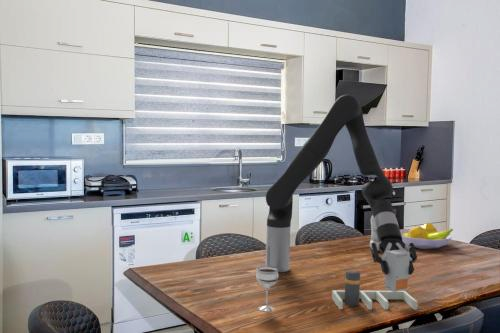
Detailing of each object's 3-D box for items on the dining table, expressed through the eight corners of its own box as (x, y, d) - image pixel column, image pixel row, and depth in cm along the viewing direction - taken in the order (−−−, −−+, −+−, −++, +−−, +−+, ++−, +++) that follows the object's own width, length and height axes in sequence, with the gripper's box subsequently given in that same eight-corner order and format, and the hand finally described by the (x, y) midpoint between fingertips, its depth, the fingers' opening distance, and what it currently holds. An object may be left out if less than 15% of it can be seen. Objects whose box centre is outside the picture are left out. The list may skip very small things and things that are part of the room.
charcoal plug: (346, 306, 142) (347, 274, 142) (342, 301, 147) (343, 270, 146) (361, 306, 143) (362, 274, 142) (356, 301, 147) (358, 270, 147)
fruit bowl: (383, 241, 238) (384, 219, 237) (427, 239, 246) (428, 218, 245) (418, 254, 211) (419, 230, 210) (466, 251, 219) (468, 228, 219)
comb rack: (339, 309, 140) (339, 301, 140) (331, 297, 150) (332, 290, 150) (417, 309, 141) (417, 301, 141) (404, 298, 151) (404, 290, 151)
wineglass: (258, 303, 143) (259, 265, 143) (280, 306, 142) (281, 267, 141) (252, 310, 137) (253, 270, 136) (274, 313, 135) (275, 273, 134)
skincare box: (394, 292, 142) (395, 254, 141) (384, 288, 146) (385, 250, 145) (408, 290, 145) (410, 252, 144) (398, 286, 149) (400, 249, 148)
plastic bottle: (384, 253, 212) (386, 209, 211) (369, 252, 214) (371, 209, 212) (383, 249, 219) (385, 207, 217) (368, 248, 220) (370, 207, 219)
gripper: (368, 222, 151) (379, 267, 140) (411, 222, 152) (425, 267, 141) (363, 234, 157) (373, 279, 146) (405, 235, 157) (417, 279, 147)
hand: (399, 273), depth 143 cm, fingers closed on skincare box, 7 cm apart
